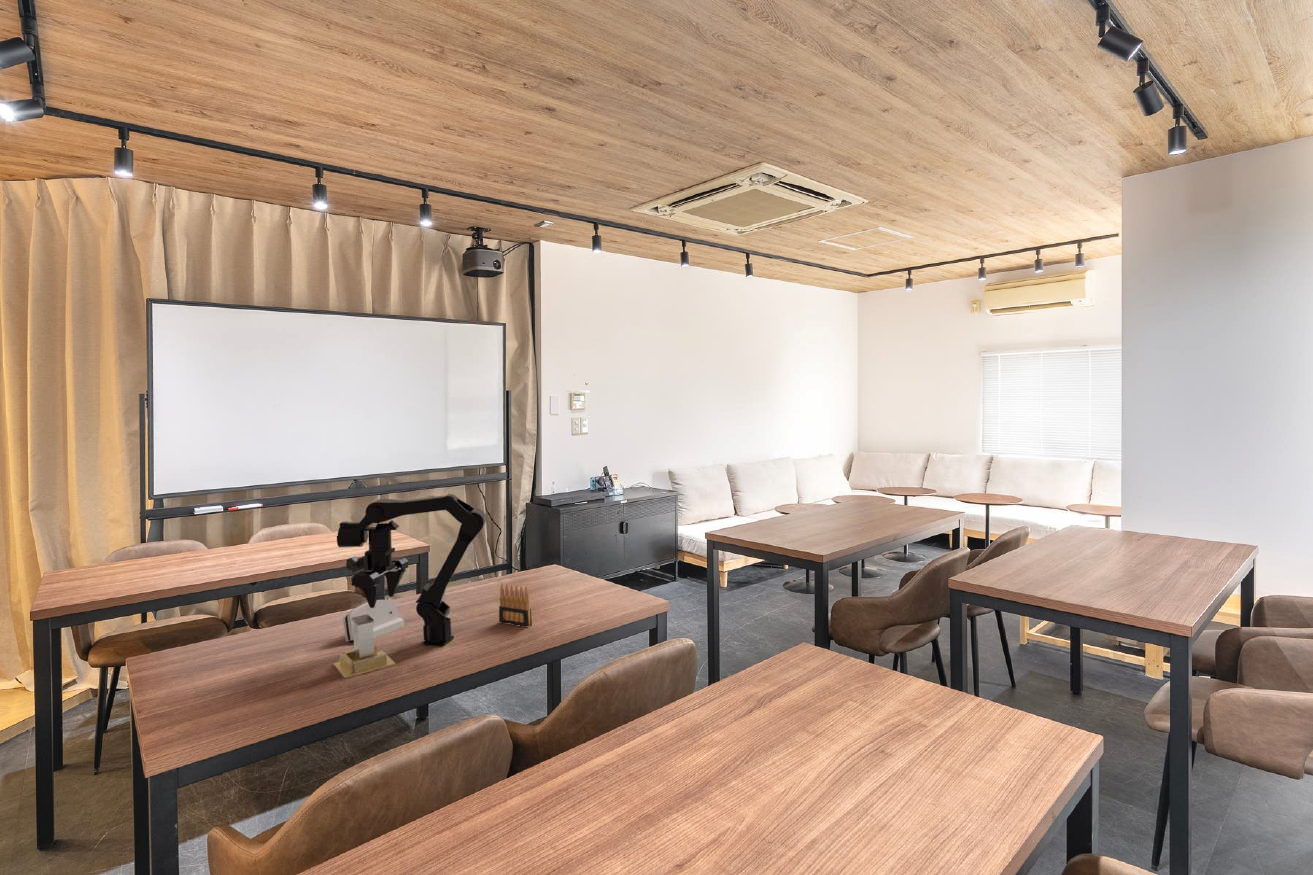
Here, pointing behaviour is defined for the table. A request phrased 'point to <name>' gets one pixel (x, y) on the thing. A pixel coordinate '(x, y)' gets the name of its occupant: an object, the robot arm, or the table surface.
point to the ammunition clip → (514, 606)
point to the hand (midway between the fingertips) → (381, 601)
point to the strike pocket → (362, 663)
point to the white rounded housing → (375, 618)
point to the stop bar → (363, 637)
